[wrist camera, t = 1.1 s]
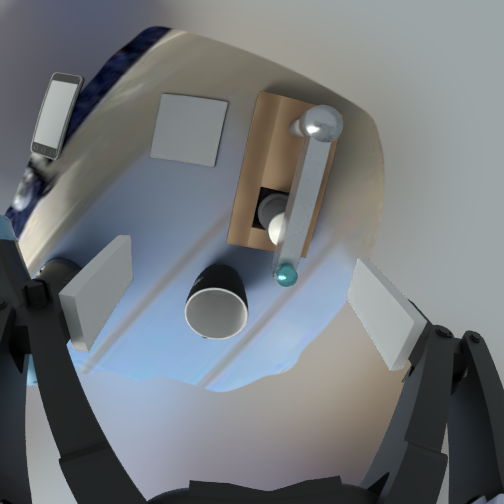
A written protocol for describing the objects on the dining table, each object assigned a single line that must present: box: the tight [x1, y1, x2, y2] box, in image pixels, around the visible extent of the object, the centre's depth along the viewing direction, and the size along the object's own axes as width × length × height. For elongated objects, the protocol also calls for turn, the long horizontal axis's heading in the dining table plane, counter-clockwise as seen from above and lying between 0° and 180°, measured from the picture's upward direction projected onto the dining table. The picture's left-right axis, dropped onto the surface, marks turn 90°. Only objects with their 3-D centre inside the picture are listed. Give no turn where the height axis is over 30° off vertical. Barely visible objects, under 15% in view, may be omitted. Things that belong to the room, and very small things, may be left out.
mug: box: [185, 264, 248, 339], centre depth 44 cm, size 12×9×10 cm
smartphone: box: [31, 72, 85, 160], centre depth 35 cm, size 7×1×15 cm
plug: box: [258, 191, 289, 245], centre depth 37 cm, size 5×5×13 cm
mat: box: [150, 94, 228, 167], centre depth 38 cm, size 10×10×1 cm
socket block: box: [227, 91, 344, 258], centre depth 35 cm, size 12×22×14 cm, turn 168°
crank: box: [271, 105, 343, 287], centre depth 26 cm, size 18×4×4 cm, turn 168°
